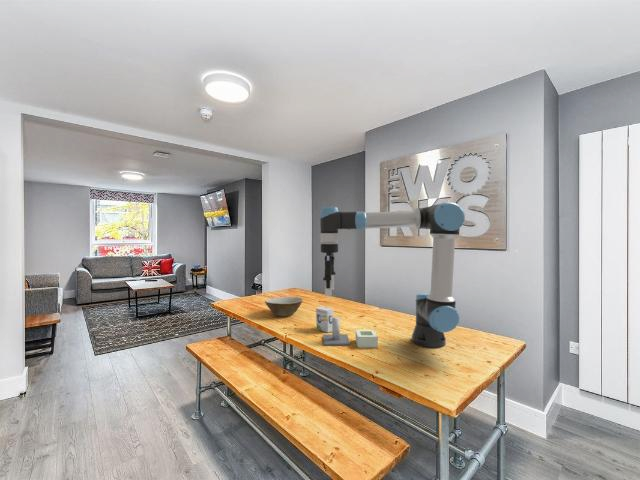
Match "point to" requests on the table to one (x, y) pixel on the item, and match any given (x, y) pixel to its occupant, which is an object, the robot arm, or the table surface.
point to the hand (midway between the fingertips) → (329, 292)
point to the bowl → (284, 305)
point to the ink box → (324, 318)
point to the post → (336, 335)
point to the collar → (366, 339)
